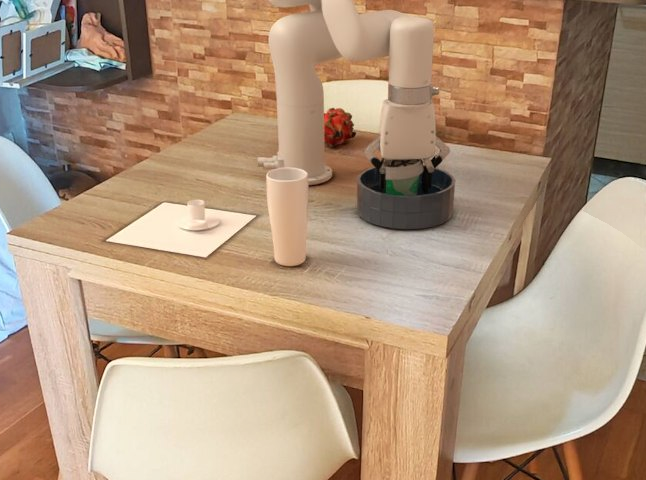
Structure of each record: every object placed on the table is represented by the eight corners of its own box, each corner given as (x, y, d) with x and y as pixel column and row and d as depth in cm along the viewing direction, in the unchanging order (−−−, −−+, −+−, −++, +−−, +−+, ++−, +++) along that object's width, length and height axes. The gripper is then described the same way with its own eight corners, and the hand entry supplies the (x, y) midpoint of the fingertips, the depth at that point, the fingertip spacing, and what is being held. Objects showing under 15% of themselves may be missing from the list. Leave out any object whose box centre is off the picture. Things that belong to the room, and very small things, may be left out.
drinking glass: (269, 253, 141) (265, 167, 132) (309, 251, 141) (307, 166, 133) (270, 270, 135) (265, 181, 127) (311, 268, 135) (309, 180, 127)
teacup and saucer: (205, 236, 147) (203, 214, 144) (166, 230, 149) (163, 209, 147) (227, 219, 153) (226, 198, 151) (190, 213, 156) (187, 192, 153)
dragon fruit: (337, 141, 199) (340, 164, 190) (308, 122, 195) (310, 144, 186) (358, 113, 195) (363, 135, 186) (329, 93, 191) (333, 115, 182)
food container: (417, 223, 151) (420, 170, 145) (384, 221, 152) (385, 168, 146) (425, 199, 161) (427, 149, 155) (393, 197, 162) (395, 147, 156)
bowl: (362, 232, 148) (362, 198, 145) (352, 196, 163) (352, 164, 160) (461, 229, 149) (464, 195, 146) (442, 193, 165) (444, 162, 161)
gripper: (453, 87, 148) (446, 183, 158) (358, 89, 147) (357, 185, 157) (462, 98, 142) (454, 197, 152) (362, 100, 141) (361, 200, 150)
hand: (404, 190), depth 154 cm, fingers closed on food container, 6 cm apart
